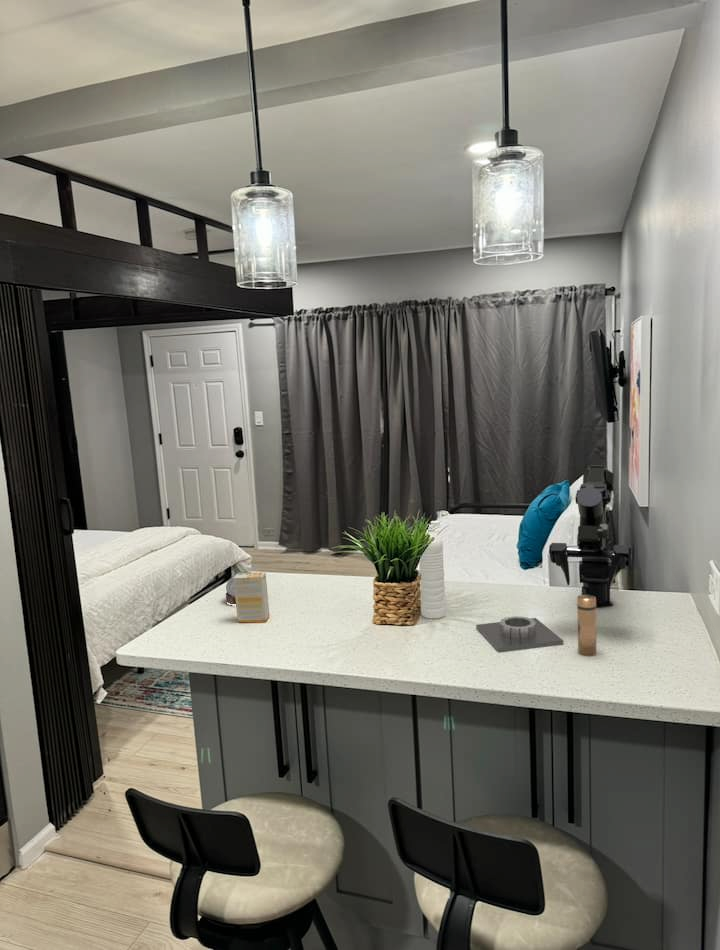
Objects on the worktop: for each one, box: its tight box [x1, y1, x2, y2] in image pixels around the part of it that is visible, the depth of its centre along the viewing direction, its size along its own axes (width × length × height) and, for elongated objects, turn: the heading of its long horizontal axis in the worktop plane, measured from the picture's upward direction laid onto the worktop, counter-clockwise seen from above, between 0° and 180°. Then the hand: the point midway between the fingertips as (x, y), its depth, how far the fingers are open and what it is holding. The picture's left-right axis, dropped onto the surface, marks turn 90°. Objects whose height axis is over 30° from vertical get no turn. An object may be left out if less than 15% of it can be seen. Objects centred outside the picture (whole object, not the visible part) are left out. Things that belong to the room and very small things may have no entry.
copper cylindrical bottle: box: [576, 594, 597, 657], centre depth 158 cm, size 4×4×13 cm
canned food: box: [225, 570, 253, 604], centre depth 211 cm, size 11×10×10 cm
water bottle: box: [418, 520, 447, 620], centre depth 189 cm, size 9×6×25 cm
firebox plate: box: [475, 615, 564, 653], centre depth 171 cm, size 16×16×4 cm
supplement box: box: [233, 571, 270, 623], centre depth 193 cm, size 8×5×13 cm, turn 84°
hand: (588, 585), depth 164 cm, fingers open, 9 cm apart
